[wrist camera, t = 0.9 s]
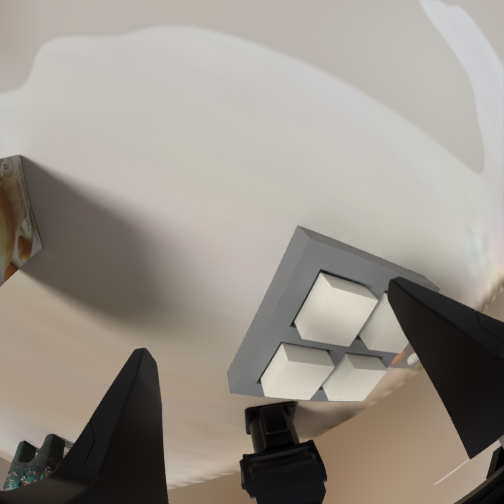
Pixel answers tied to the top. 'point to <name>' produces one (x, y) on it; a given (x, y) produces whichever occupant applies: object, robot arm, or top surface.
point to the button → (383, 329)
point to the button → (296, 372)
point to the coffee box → (15, 219)
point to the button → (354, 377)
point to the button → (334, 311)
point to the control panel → (293, 297)
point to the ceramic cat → (34, 462)
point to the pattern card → (405, 358)
